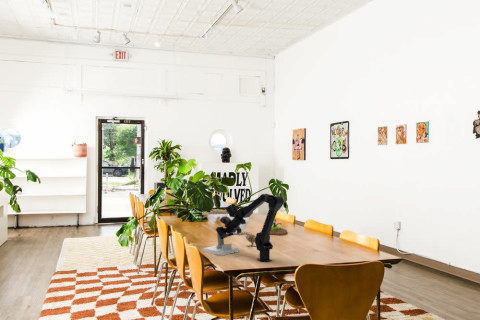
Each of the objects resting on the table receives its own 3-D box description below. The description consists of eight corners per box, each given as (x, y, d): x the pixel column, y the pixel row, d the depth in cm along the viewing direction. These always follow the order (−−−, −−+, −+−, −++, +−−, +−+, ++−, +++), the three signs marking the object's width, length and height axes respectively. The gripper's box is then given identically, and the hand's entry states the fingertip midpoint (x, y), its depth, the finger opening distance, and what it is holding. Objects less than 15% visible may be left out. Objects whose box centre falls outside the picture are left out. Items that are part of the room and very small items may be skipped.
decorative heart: (227, 235, 335) (228, 213, 334) (224, 233, 345) (224, 211, 345) (250, 235, 340) (251, 212, 340) (246, 232, 350) (246, 210, 350)
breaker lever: (225, 247, 280) (223, 229, 281) (220, 248, 277) (218, 229, 278) (222, 247, 281) (221, 229, 282) (217, 248, 278) (216, 229, 279)
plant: (288, 232, 358) (288, 218, 357) (286, 236, 338) (287, 221, 338) (264, 231, 361) (264, 217, 361) (260, 235, 342) (261, 220, 342)
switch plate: (239, 251, 280) (239, 243, 280) (222, 255, 268) (222, 247, 268) (220, 247, 290) (220, 240, 290) (203, 251, 278) (203, 243, 278)
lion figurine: (245, 247, 294) (246, 233, 294) (245, 245, 299) (245, 232, 299) (268, 247, 294) (268, 234, 294) (267, 245, 300) (267, 232, 300)
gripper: (238, 211, 282) (225, 226, 290) (218, 214, 268) (204, 229, 275) (247, 225, 277) (233, 240, 285) (227, 228, 263) (213, 244, 270)
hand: (221, 238), depth 279 cm, fingers closed, pressing on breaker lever
